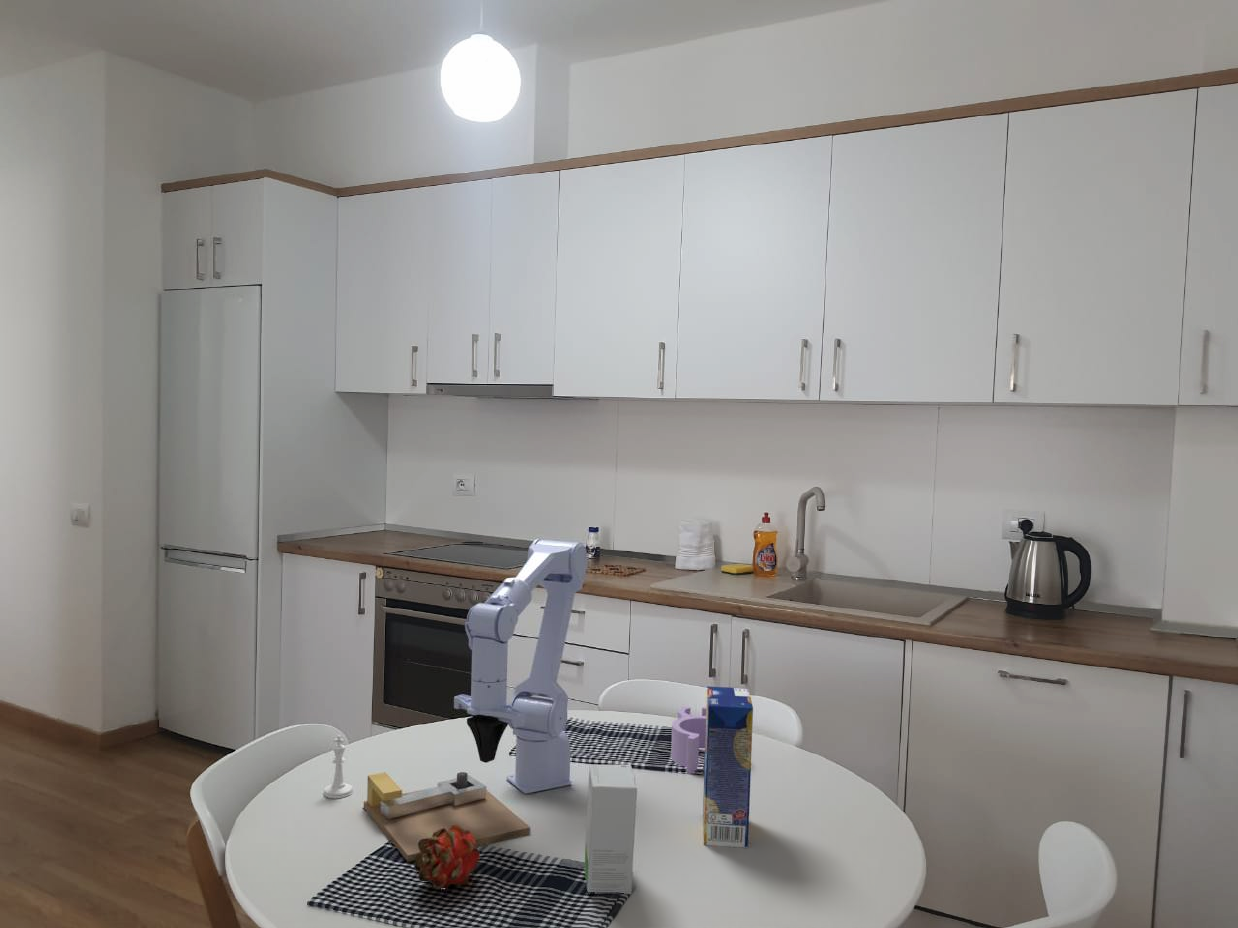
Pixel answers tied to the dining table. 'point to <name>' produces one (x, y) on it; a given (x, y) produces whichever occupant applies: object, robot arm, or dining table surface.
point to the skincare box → (610, 828)
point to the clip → (688, 738)
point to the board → (450, 822)
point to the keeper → (381, 789)
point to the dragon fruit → (447, 857)
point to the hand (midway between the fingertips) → (487, 760)
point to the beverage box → (727, 766)
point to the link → (434, 798)
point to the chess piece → (338, 775)
